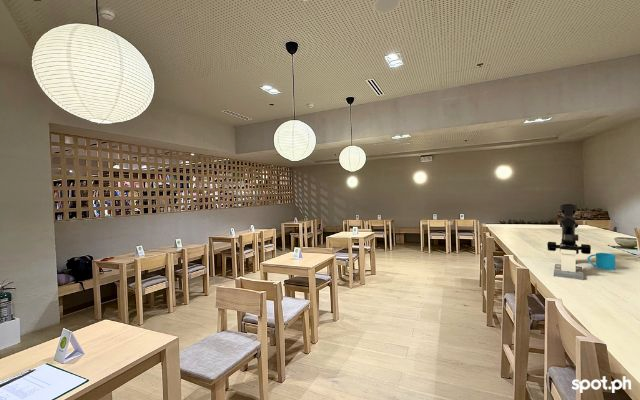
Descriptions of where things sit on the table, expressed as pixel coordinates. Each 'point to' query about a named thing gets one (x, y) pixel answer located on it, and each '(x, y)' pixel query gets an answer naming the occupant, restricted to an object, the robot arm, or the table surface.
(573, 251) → the cream lidded box
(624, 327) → the table surface
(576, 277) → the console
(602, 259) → the mug
